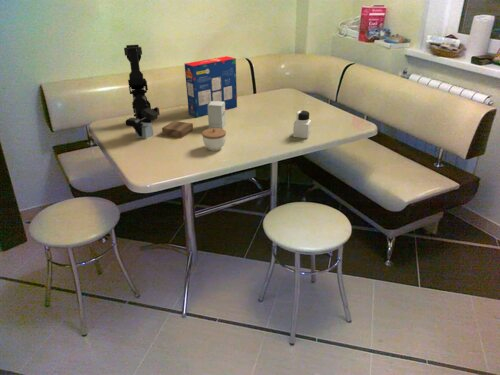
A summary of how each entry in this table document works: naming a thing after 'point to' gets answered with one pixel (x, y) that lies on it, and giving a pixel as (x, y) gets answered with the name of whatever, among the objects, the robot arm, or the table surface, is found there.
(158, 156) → the table surface
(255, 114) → the table surface
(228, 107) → the blue board game box
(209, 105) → the supplement box
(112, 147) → the table surface
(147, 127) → the slate cube
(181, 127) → the walnut block
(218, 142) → the lidded jar
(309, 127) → the medicine bottle
